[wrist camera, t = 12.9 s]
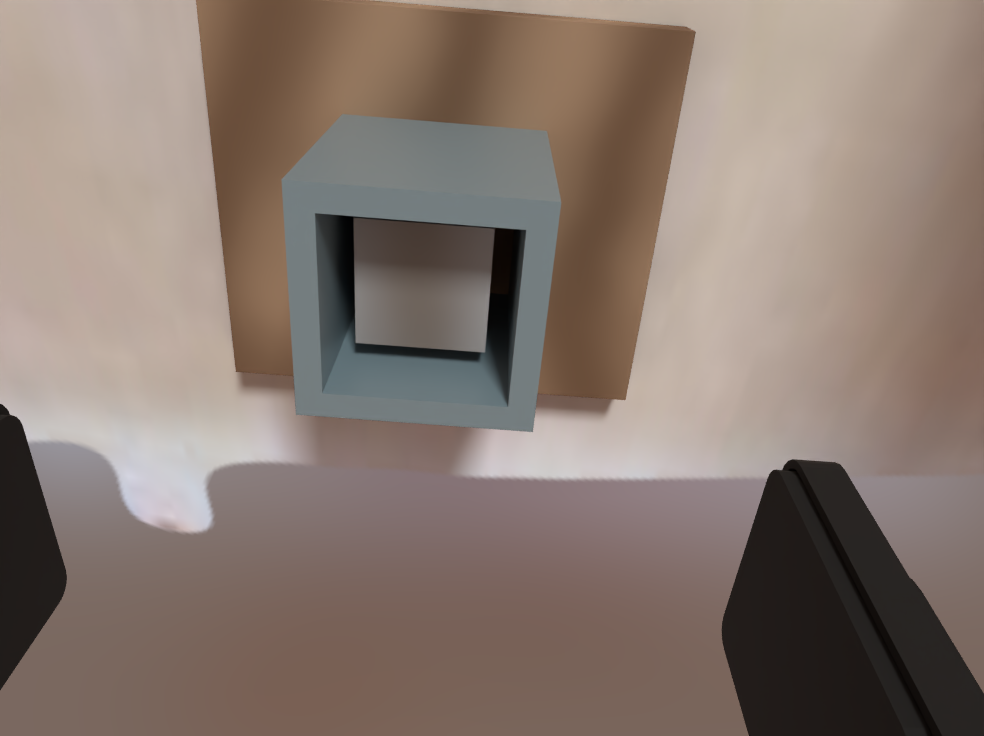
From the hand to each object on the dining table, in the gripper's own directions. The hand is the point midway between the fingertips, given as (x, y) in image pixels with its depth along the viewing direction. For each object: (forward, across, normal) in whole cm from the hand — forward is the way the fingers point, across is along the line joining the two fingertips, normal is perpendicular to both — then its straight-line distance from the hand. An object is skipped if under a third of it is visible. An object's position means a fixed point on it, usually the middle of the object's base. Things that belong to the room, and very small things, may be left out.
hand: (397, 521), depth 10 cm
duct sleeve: (+19, +1, +3) cm, 19 cm away
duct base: (+21, +1, +3) cm, 21 cm away
